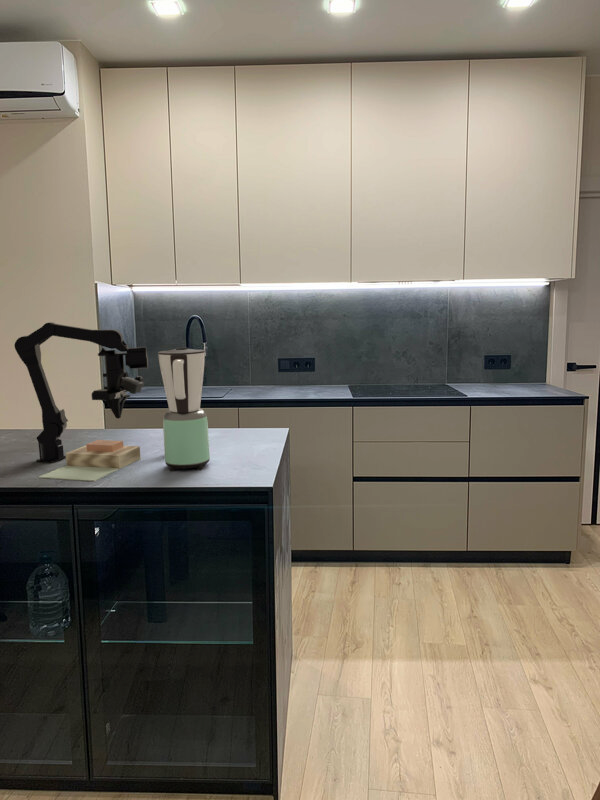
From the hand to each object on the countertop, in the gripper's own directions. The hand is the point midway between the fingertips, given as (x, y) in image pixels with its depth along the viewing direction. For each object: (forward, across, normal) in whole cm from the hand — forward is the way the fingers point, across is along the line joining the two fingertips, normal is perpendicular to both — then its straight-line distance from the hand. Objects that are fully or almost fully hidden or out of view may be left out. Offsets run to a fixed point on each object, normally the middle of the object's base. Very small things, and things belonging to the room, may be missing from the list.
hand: (118, 418), depth 192 cm
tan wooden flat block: (+12, -10, 0) cm, 15 cm away
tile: (+8, -8, 0) cm, 12 cm away
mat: (+12, -22, 0) cm, 25 cm away
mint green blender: (+12, -10, -28) cm, 32 cm away
